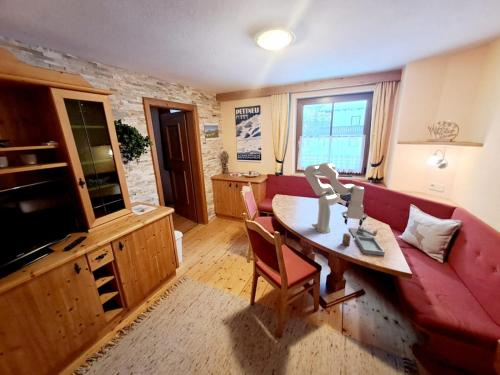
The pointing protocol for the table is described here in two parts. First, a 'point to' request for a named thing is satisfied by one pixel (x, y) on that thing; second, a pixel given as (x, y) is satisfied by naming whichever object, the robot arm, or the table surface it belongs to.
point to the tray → (369, 245)
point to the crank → (367, 231)
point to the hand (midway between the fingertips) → (352, 224)
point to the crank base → (358, 233)
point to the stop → (346, 239)
